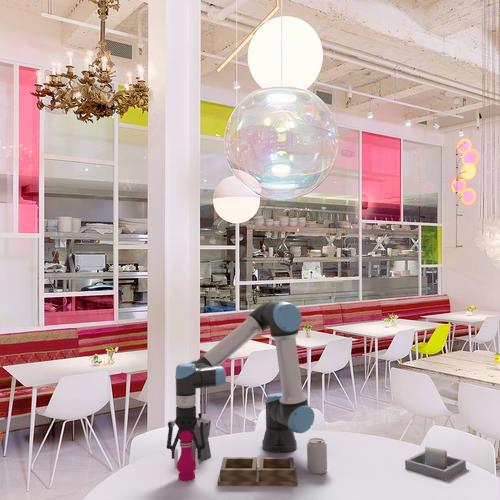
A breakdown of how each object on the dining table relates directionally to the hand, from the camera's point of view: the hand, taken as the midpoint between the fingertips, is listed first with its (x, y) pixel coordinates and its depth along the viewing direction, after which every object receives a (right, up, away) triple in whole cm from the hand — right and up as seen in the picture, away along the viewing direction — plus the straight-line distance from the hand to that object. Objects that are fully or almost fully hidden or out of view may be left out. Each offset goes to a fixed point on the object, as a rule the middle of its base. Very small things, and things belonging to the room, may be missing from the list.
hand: (186, 467), depth 197 cm
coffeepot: (+2, -5, +24) cm, 25 cm away
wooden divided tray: (+27, -4, -1) cm, 27 cm away
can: (+50, -4, +5) cm, 50 cm away
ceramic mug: (+96, -3, +8) cm, 97 cm away
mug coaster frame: (+96, -3, +7) cm, 96 cm away
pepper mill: (0, -4, 0) cm, 4 cm away
